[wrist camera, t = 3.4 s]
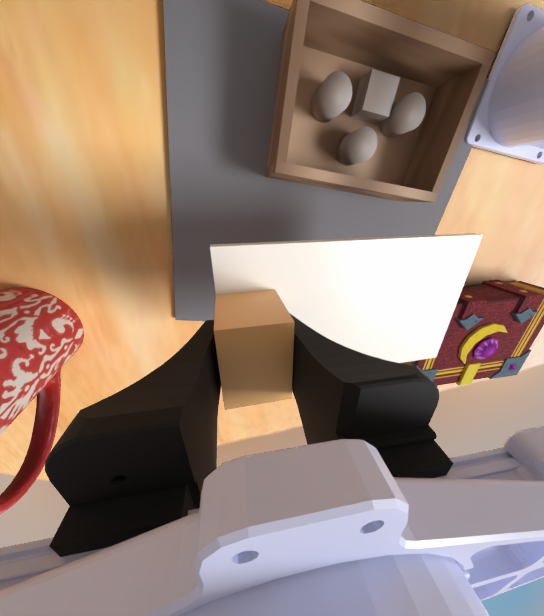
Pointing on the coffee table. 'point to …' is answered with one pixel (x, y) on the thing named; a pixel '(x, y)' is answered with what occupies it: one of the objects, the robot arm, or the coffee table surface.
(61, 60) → the coffee table surface
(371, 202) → the mat
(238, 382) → the lid
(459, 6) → the coffee table surface
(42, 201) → the coffee table surface
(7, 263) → the coffee table surface
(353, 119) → the tub
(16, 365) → the mug
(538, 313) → the decorative book
